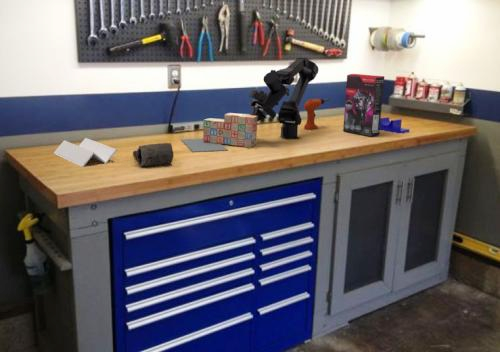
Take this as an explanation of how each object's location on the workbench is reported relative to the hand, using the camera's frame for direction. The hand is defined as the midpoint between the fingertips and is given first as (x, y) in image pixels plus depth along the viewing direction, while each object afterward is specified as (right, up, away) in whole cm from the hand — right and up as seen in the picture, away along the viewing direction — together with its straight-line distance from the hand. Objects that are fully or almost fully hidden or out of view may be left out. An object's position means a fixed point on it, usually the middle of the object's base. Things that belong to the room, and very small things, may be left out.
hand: (248, 123), depth 213 cm
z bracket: (-59, -15, -28) cm, 67 cm away
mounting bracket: (+69, 0, +41) cm, 81 cm away
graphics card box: (+53, -2, +30) cm, 61 cm away
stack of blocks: (-8, -8, 0) cm, 11 cm away
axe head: (-33, -16, -27) cm, 46 cm away
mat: (-18, -9, -3) cm, 20 cm away
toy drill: (+34, +2, +43) cm, 55 cm away
